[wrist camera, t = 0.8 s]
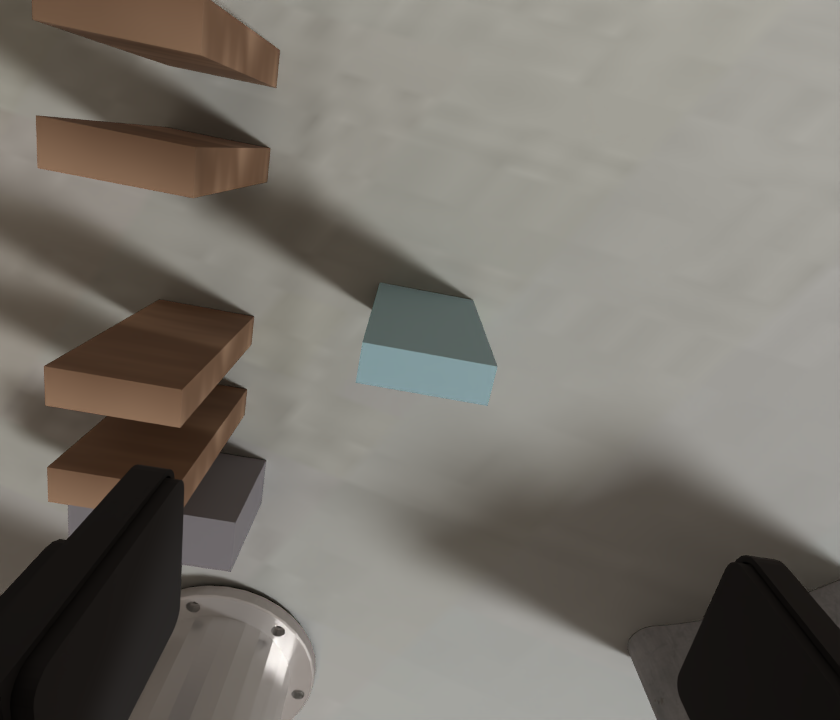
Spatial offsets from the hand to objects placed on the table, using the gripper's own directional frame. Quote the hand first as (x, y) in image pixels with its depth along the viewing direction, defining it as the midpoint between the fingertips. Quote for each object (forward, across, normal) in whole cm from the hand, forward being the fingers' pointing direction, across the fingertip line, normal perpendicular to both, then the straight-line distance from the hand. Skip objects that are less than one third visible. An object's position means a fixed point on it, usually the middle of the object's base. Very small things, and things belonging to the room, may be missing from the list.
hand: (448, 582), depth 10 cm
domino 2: (+22, +11, -5) cm, 25 cm away
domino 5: (+22, 0, +1) cm, 22 cm away
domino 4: (+22, +12, +8) cm, 26 cm away
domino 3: (+22, +12, +4) cm, 25 cm away
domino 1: (+22, +11, -9) cm, 26 cm away
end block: (+22, +12, +13) cm, 28 cm away
